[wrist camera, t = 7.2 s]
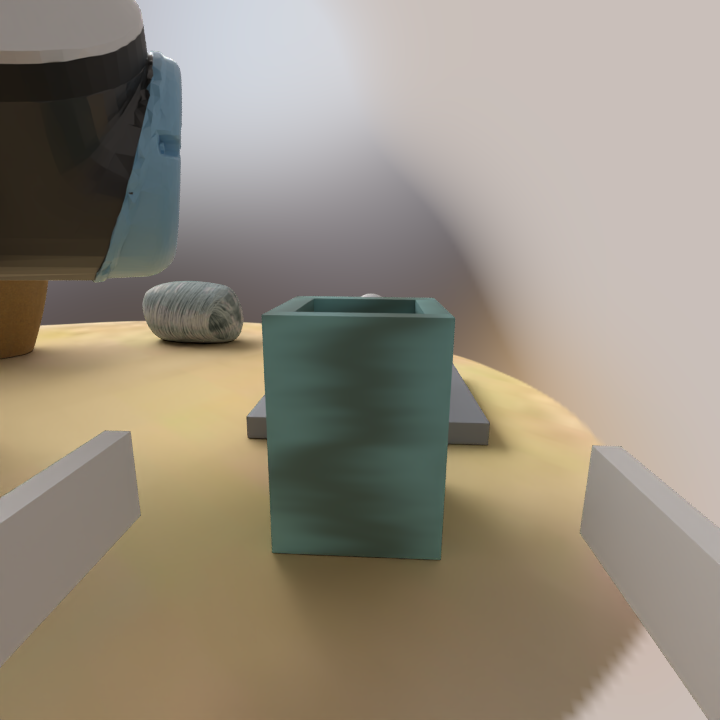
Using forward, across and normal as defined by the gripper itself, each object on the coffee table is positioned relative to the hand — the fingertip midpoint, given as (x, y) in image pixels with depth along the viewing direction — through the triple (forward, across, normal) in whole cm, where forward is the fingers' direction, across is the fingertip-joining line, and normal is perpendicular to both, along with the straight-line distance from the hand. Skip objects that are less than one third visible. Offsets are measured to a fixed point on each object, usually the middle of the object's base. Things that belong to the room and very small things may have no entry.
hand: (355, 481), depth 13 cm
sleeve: (+8, 0, -6) cm, 10 cm away
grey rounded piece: (+48, -25, -6) cm, 54 cm away
